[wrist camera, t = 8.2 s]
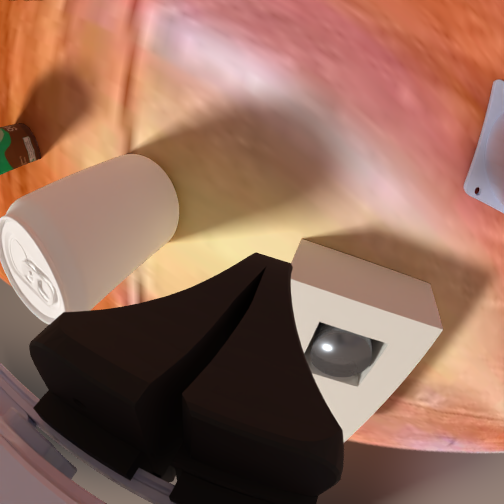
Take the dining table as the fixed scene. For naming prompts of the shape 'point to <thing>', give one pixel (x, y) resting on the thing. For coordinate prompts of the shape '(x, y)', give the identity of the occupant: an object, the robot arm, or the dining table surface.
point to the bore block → (362, 325)
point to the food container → (17, 147)
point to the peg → (340, 351)
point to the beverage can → (86, 233)
